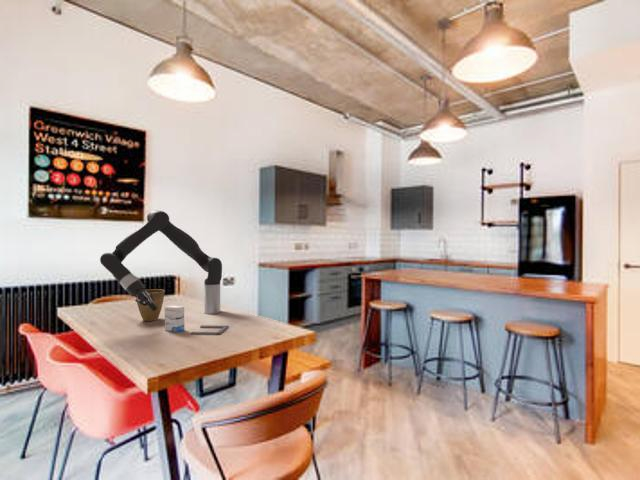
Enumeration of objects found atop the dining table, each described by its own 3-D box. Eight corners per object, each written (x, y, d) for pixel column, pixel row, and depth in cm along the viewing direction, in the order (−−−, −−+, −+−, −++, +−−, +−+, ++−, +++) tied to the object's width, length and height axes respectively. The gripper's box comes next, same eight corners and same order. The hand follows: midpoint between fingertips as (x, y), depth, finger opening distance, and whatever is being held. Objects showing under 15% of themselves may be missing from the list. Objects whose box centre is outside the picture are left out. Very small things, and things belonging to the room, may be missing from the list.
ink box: (184, 329, 179) (184, 306, 179) (177, 332, 175) (177, 308, 175) (172, 328, 183) (172, 304, 183) (164, 330, 178) (164, 306, 178)
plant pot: (170, 316, 207) (169, 289, 206) (155, 323, 192) (155, 293, 191) (145, 316, 208) (145, 288, 208) (129, 322, 193) (129, 292, 193)
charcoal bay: (201, 326, 185) (201, 325, 185) (228, 327, 184) (228, 325, 184) (190, 334, 172) (190, 332, 172) (219, 334, 171) (219, 333, 171)
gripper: (129, 281, 173) (154, 307, 172) (144, 277, 186) (167, 302, 185) (118, 292, 173) (143, 318, 172) (134, 288, 186) (157, 312, 186)
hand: (156, 309), depth 179 cm, fingers closed
